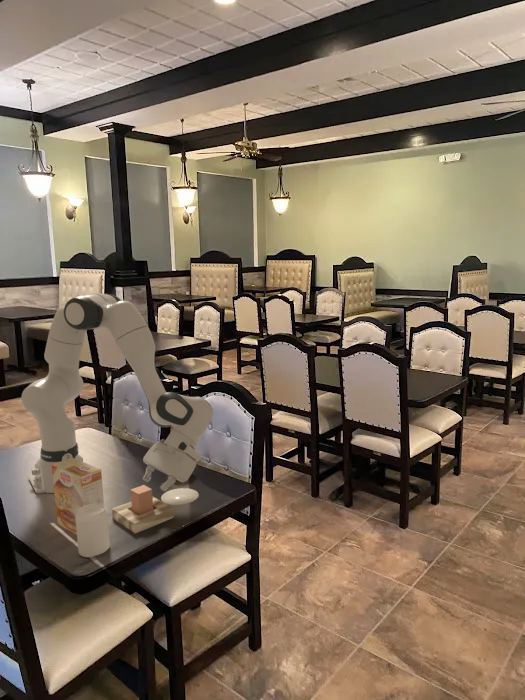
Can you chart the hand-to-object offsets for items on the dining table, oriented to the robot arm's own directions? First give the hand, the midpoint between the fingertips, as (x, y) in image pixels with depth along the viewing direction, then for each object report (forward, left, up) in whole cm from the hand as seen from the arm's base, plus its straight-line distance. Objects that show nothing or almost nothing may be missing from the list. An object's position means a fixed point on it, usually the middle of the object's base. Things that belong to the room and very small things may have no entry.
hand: (153, 485), depth 161 cm
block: (0, -4, -9) cm, 10 cm away
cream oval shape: (-4, +12, -10) cm, 16 cm away
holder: (0, -4, -10) cm, 11 cm away
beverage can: (+5, -22, -10) cm, 25 cm away
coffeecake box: (-8, -20, -10) cm, 24 cm away
